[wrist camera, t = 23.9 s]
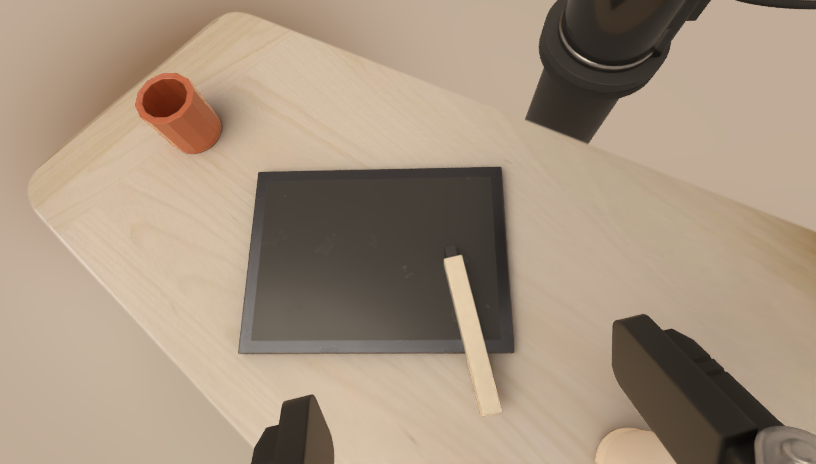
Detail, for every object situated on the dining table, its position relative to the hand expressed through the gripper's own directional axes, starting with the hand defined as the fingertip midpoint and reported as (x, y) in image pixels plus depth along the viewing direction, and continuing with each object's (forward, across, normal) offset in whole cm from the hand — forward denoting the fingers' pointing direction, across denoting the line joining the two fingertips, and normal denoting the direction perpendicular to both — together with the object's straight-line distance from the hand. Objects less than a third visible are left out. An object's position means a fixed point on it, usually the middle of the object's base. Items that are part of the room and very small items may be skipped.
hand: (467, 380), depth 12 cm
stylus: (+23, -3, +10) cm, 25 cm away
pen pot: (+37, +18, -2) cm, 41 cm away
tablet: (+25, +3, +10) cm, 27 cm away
